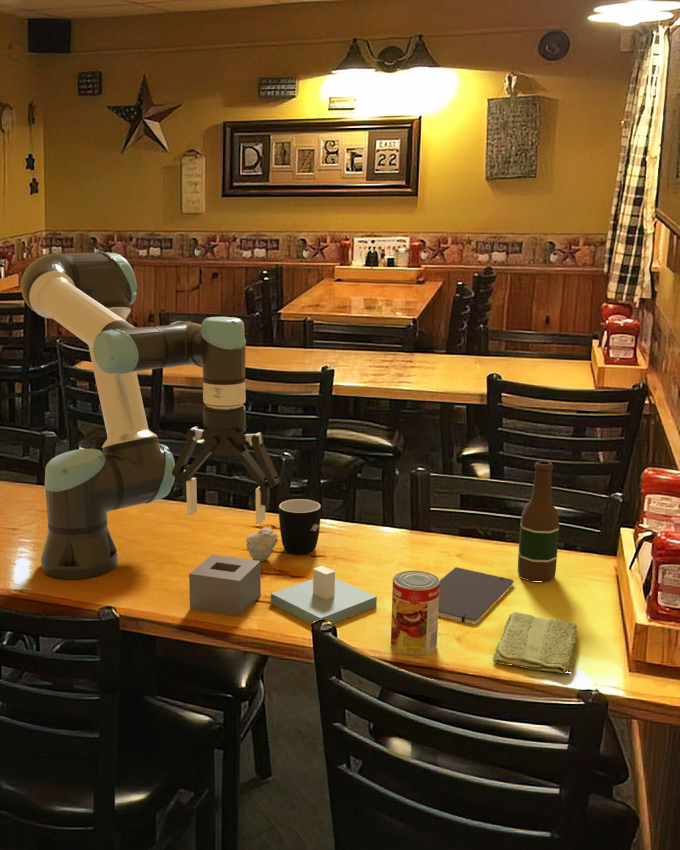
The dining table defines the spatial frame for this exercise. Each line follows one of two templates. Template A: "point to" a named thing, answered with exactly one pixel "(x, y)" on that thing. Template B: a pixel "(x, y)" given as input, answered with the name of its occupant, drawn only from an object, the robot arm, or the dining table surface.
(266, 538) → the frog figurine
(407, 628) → the canned food
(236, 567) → the slotted gray box
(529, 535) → the beer bottle
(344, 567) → the dining table surface
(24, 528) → the dining table surface
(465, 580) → the notebook
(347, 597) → the base
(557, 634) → the washcloth
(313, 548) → the mug
